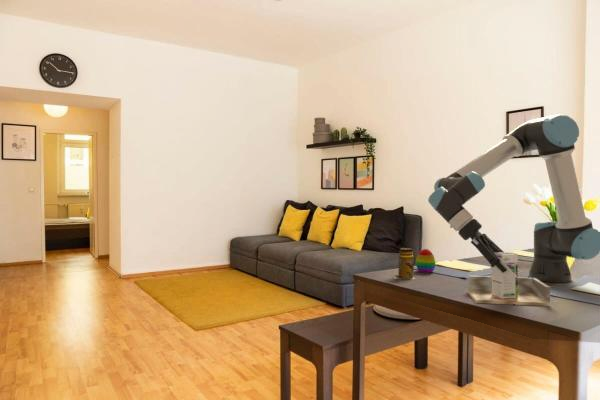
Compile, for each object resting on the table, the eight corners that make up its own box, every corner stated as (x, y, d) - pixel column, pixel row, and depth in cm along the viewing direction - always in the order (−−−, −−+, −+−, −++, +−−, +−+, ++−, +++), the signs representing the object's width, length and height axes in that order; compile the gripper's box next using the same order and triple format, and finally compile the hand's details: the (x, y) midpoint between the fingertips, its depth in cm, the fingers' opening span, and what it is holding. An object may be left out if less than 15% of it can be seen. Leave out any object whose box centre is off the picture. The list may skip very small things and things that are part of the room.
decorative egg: (428, 269, 200) (428, 247, 200) (439, 272, 192) (439, 249, 192) (412, 270, 198) (412, 248, 197) (422, 274, 190) (423, 250, 189)
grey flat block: (534, 295, 154) (535, 277, 153) (549, 306, 140) (550, 287, 140) (467, 292, 158) (467, 275, 157) (475, 302, 144) (476, 284, 144)
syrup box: (502, 299, 144) (502, 254, 143) (491, 294, 150) (491, 251, 149) (518, 298, 145) (518, 253, 144) (506, 293, 151) (507, 251, 150)
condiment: (415, 279, 179) (416, 249, 179) (394, 279, 180) (394, 249, 179) (412, 275, 186) (412, 247, 186) (392, 275, 187) (392, 247, 187)
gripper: (465, 229, 164) (511, 277, 156) (449, 235, 146) (501, 290, 137) (480, 215, 161) (529, 264, 152) (466, 219, 143) (520, 275, 134)
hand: (515, 276), depth 145 cm, fingers open, 9 cm apart
